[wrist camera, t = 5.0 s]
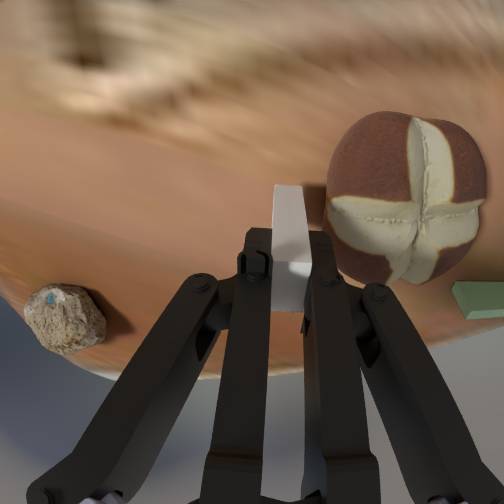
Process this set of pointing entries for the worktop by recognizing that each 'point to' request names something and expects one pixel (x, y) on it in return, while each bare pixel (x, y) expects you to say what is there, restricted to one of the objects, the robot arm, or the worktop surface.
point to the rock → (65, 319)
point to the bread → (403, 198)
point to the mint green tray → (479, 299)
